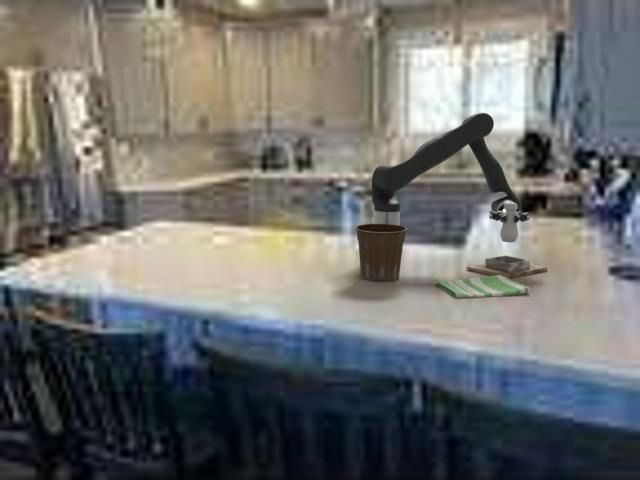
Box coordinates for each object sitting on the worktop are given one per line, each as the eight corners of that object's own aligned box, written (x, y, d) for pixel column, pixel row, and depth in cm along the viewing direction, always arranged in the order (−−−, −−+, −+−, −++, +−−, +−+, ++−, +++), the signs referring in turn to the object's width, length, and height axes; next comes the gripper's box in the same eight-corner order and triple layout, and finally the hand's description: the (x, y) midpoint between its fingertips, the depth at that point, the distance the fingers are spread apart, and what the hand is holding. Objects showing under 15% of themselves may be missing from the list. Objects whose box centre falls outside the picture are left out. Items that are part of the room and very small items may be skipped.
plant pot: (391, 286, 212) (393, 233, 209) (344, 279, 220) (345, 228, 217) (413, 276, 226) (415, 226, 223) (369, 270, 234) (370, 222, 231)
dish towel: (432, 285, 216) (432, 276, 216) (502, 282, 221) (503, 274, 221) (456, 300, 199) (456, 290, 199) (531, 296, 204) (532, 287, 204)
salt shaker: (518, 243, 232) (520, 204, 229) (500, 242, 233) (502, 203, 230) (516, 240, 237) (519, 201, 235) (499, 239, 238) (501, 201, 236)
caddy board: (505, 279, 224) (506, 267, 223) (466, 270, 236) (467, 259, 235) (547, 270, 237) (547, 259, 236) (508, 262, 249) (508, 252, 249)
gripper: (488, 200, 248) (489, 207, 232) (529, 202, 245) (533, 209, 229) (486, 221, 249) (487, 229, 233) (528, 223, 247) (532, 231, 230)
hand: (510, 219), depth 231 cm, fingers closed on salt shaker, 3 cm apart
